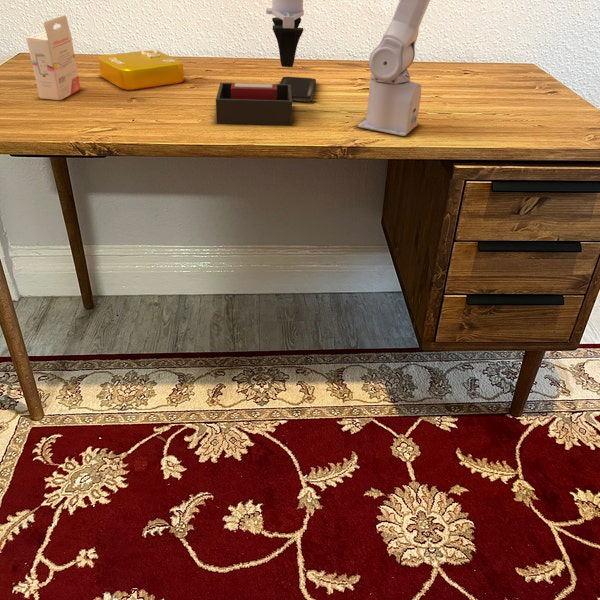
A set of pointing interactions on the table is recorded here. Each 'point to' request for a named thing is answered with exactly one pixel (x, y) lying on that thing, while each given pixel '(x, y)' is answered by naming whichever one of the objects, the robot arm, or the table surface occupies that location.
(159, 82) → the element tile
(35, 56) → the ink cartridge box
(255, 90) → the red and black box
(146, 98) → the table surface
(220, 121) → the bin
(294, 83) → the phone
